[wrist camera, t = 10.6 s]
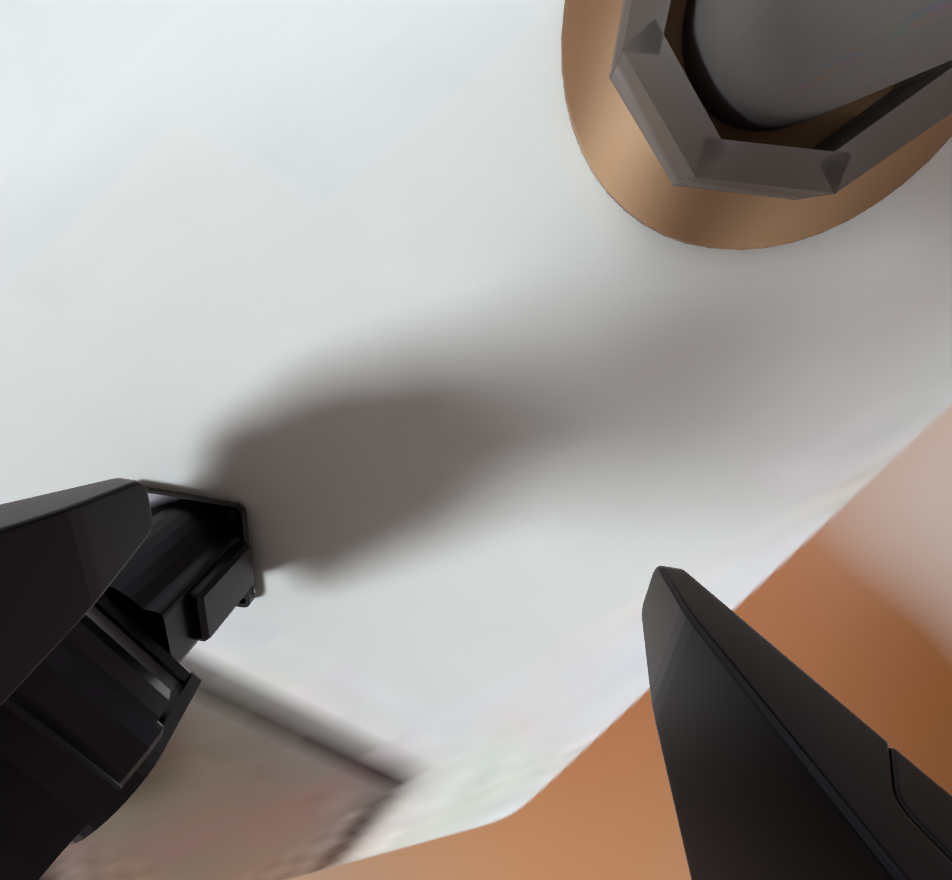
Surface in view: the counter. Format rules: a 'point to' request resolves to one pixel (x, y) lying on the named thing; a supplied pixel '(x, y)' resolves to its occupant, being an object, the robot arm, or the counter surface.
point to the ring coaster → (730, 137)
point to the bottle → (806, 54)
